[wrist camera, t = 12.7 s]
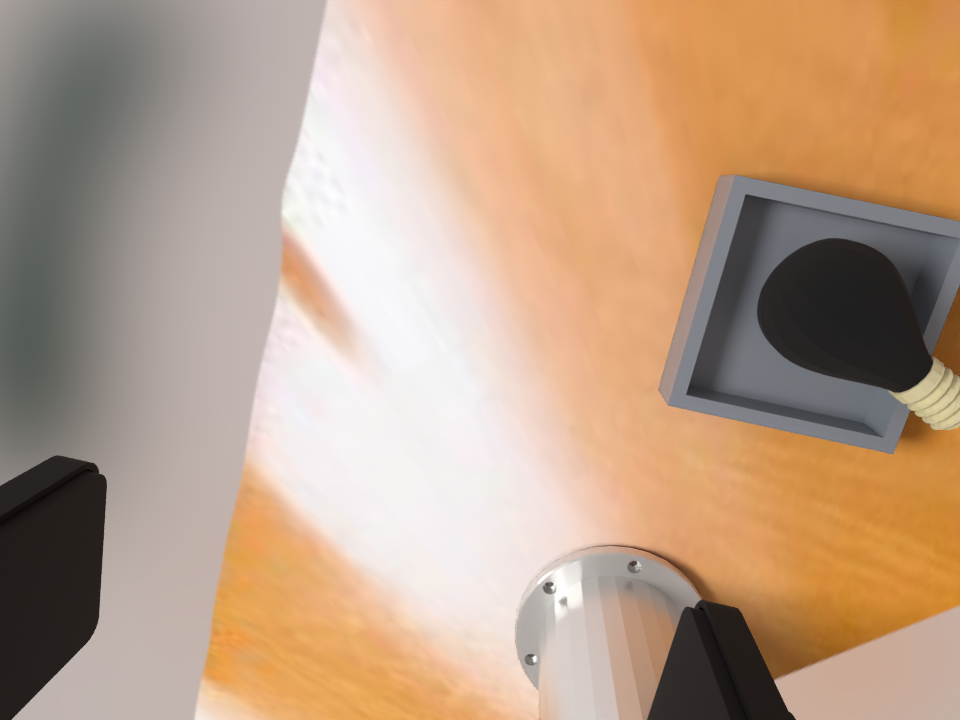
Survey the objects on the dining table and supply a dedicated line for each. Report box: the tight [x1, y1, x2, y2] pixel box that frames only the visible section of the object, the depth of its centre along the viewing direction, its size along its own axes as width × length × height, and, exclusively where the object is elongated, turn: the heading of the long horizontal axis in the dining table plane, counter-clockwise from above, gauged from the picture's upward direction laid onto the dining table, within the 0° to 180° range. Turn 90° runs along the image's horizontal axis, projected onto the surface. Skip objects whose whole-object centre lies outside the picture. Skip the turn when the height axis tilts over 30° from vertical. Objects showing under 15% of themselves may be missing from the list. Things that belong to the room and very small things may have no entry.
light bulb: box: [757, 238, 960, 430], centre depth 34 cm, size 7×7×12 cm
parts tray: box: [658, 175, 960, 454], centre depth 37 cm, size 13×13×3 cm
